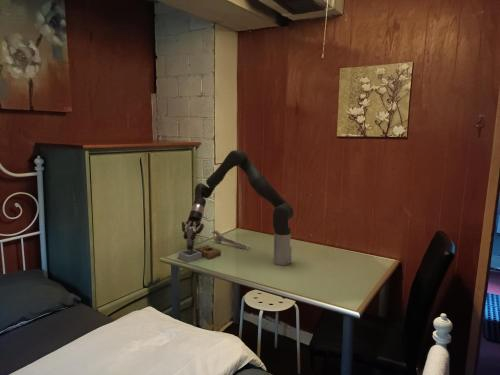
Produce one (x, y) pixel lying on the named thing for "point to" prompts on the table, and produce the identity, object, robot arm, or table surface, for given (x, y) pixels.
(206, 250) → the beam block
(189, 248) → the axle
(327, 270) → the table surface
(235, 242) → the wrench
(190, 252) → the seat block
